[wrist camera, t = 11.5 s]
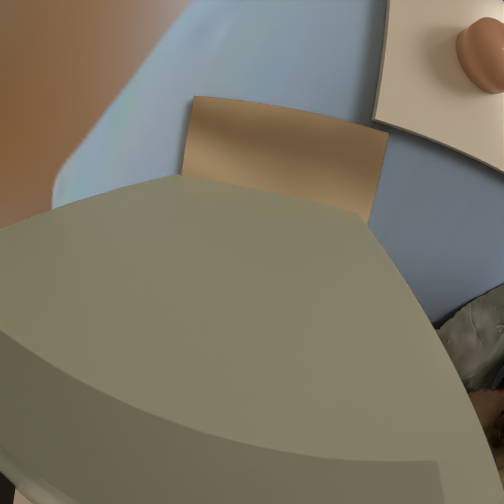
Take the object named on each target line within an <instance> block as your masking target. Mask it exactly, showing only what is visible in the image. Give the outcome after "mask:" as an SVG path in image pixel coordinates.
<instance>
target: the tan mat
mask: <svg viewBox="0 0 504 504" xmlns="http://www.w3.org/2000/svg"><path fill="white" fill-rule="evenodd" d="M388 136H389V133H386V132H383V131H380V130H377V129H373V128H370V127H366V126H363V125H359V124H356V123H352V122H348V121H344V120H341V119H337V118H332V117H328V116H324V115H320V114H315V113H311V112H306V111H301V110H296V109H291V108H286V107H280V106H274V105H268V104H262V103H255V102H248V101H241V100H233V99H224V98H214V97H203V96H194V98H193V104H192V109H191V115H190V121H189V127H188V133H187V139H186V146H185V153H184V159H183V167H182V174H181V175H184V176H190V177H195V178H201V179H207V180H212V181H218V182H223V183H228V184H233V185H239V186H244V187H249V188H254V189H258V190H263V191H268V192H273V193H277V194H282V195H286V196H291V197H295V198H299V199H304V200H308V201H312V202H316V203H321V204H325V205H329V206H333V207H337V208H341V209H345V210H349V211H352V212H356V213H358V214H359V215H360V216H361V218H362V219H363V220H364V222H365V223H366V224H368V221H369V217H370V213H371V209H372V206H373V202H374V198H375V194H376V190H377V186H378V182H379V178H380V174H381V169H382V165H383V160H384V156H385V151H386V146H387V141H388Z"/></svg>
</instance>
